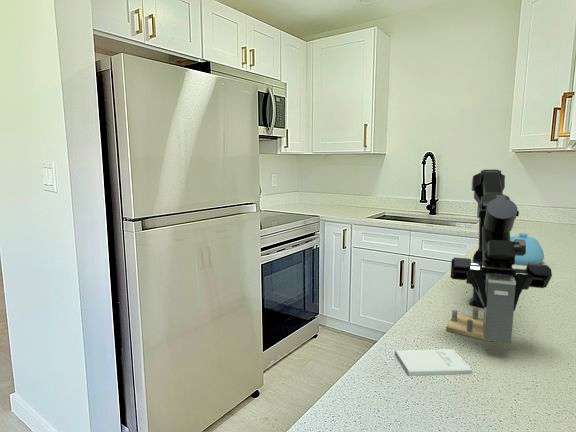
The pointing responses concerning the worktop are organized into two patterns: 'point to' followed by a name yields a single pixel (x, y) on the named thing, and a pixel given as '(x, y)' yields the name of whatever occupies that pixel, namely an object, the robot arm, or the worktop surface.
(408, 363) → the external hard drive
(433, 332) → the worktop surface
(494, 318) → the tower
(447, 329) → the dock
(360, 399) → the worktop surface
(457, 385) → the worktop surface
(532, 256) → the sugar bowl
